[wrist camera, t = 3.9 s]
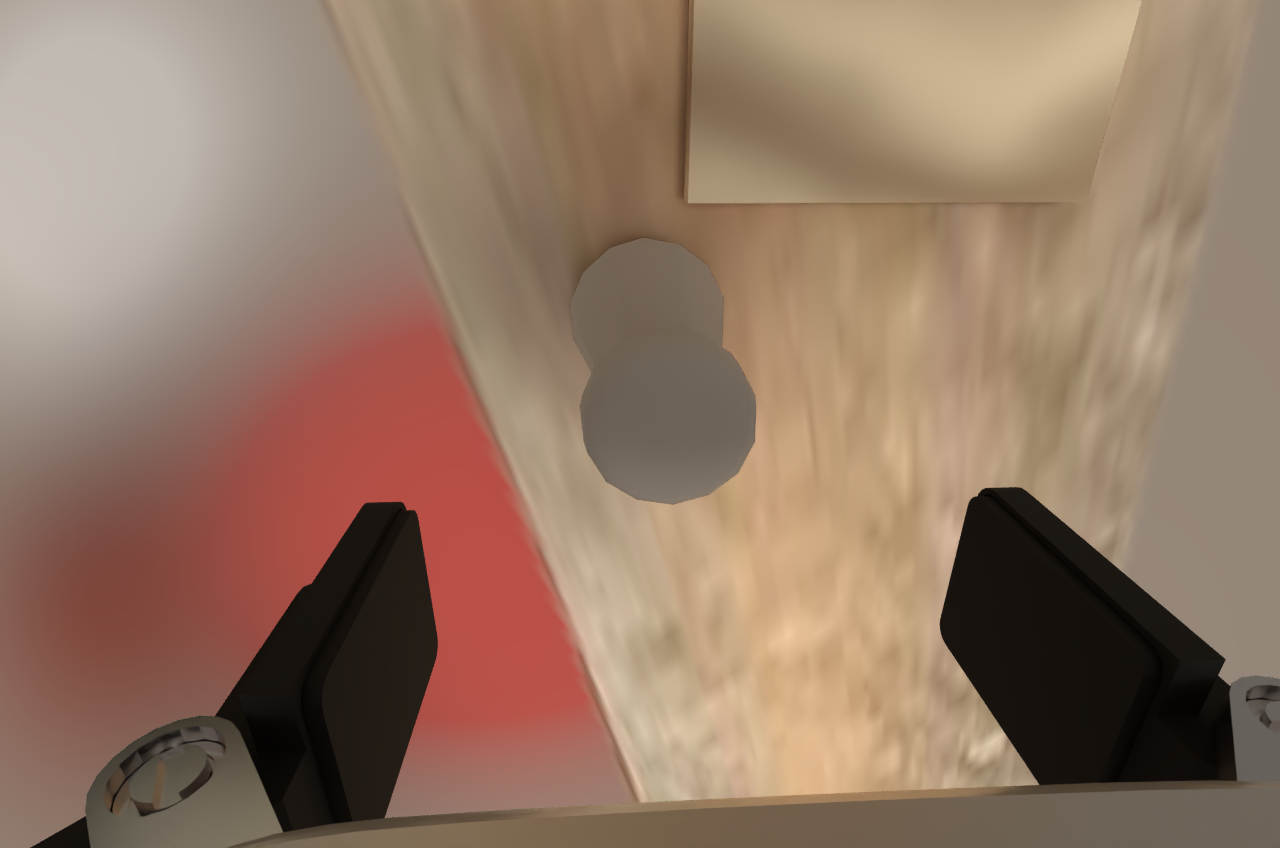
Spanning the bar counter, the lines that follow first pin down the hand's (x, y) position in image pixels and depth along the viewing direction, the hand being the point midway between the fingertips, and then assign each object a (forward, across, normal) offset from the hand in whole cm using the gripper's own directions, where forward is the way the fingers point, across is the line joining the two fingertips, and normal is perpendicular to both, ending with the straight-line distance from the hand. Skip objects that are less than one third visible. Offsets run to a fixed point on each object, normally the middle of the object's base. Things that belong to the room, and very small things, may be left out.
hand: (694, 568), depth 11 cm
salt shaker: (+18, 0, 0) cm, 18 cm away
